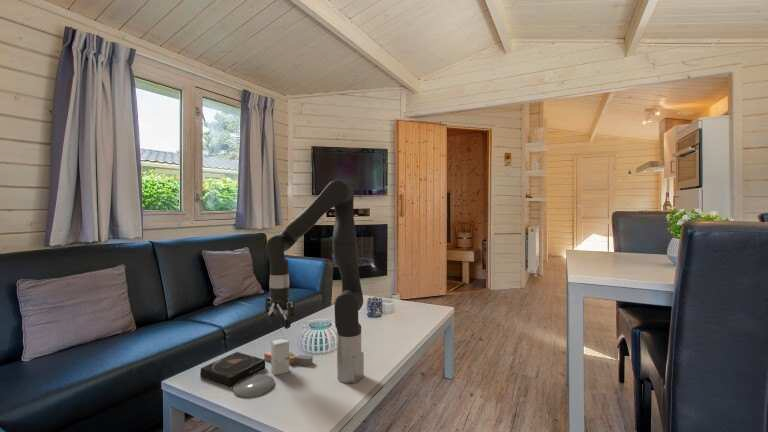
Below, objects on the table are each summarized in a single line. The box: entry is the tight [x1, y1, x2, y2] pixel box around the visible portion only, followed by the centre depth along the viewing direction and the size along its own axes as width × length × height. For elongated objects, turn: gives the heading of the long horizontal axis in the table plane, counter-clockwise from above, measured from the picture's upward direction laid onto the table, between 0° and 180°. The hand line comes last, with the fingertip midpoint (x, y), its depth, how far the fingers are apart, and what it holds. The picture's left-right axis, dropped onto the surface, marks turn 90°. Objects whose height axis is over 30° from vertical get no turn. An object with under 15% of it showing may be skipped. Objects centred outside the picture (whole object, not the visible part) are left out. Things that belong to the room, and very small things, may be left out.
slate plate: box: [232, 374, 275, 398], centre depth 127 cm, size 14×14×1 cm
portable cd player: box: [199, 351, 266, 388], centre depth 137 cm, size 16×17×4 cm
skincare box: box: [270, 338, 290, 376], centre depth 138 cm, size 6×4×12 cm
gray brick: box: [295, 354, 314, 367], centre depth 145 cm, size 6×3×3 cm, turn 76°
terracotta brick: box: [263, 350, 271, 363], centre depth 148 cm, size 6×3×3 cm, turn 57°
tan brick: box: [289, 351, 298, 366], centre depth 147 cm, size 6×3×3 cm, turn 39°
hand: (279, 326), depth 138 cm, fingers open, 8 cm apart
